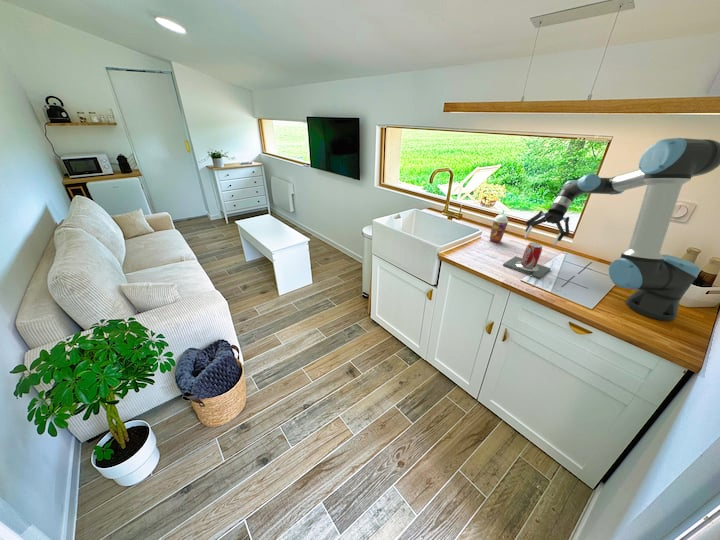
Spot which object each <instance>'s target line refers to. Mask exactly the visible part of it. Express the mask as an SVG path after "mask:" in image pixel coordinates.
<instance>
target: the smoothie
mask: <svg viewBox="0 0 720 540" xmlns="http://www.w3.org/2000/svg"><path fill="white" fill-rule="evenodd" d="M508 219H509V218H508V217H507V215H505V209H502V213H501V214H498V215H496V216H495V217H494V218H493V219H492V221H493V222H492V225H491V230H490V235H489V240H490V242H492V243H496V244H497V243H500V242H501V241H502V239H503V236H504V234H505V232H506V228H507V226H508V224H509V220H508Z"/></svg>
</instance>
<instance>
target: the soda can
mask: <svg viewBox="0 0 720 540" xmlns="http://www.w3.org/2000/svg"><path fill="white" fill-rule="evenodd" d="M525 247H526V248H525V250H524V253H523V255H522V261H521V264H522V265H523V266H524V267H526V268H534V267H535V266H536V265H537V264H538V262H539V260H540V257H541V255H542V251H543V245H541V244H540V243H538V242H529V243H528V244H527V246H525Z"/></svg>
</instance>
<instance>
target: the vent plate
mask: <svg viewBox="0 0 720 540" xmlns="http://www.w3.org/2000/svg"><path fill="white" fill-rule="evenodd" d="M522 258H523V257H522ZM522 258H521V257H520V256H517V255H516V256H514V257H512V258H510V259H509V260H507V261H506V262H504V263H503V264H502V266H504V267H505V268H506V267H507V268H509V269H512V270H513V271H517V272H519V273H522V274H524V275H527V276H530V275H532V276H533V278H535V279H538V280H540V279H542V278H543V277H544V276H545V275H546V274H548V273H549V272H550V271H551V270H552V268H551V267H548V266H545V265H542V264H539V263H537V265H536V266H535V267H534V268H526V267H524V266H523V265H522V264H521V261H522ZM532 276H531V277H532Z"/></svg>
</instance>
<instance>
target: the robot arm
mask: <svg viewBox="0 0 720 540" xmlns="http://www.w3.org/2000/svg"><path fill="white" fill-rule="evenodd" d="M718 167H720V142H719V141H716V140H714V139H707V138H706V139H703V138H702V139H701V138H687V137H685V138H683V137H677V138H676V137H673V138H672V137H671V138H664V139H661V140H658V141H656V142H654V143H653V144H652V145H651V146H649V147H648V148H647V149H646V150H645V151H644V152H643V153H642V155H641V156H640V158H639V162H638V169H634V170H631V171H629V172H625V173H622V174H619V175H615V176H612V177H600V176H599V175H597V174H595V173H588V174H586V175H583V176H582V177H580V178H578V179H572V180H567V181H566V182H565V183H564V184H563V185H562V187H561V189H560V191H559V193H558V194H557V195H556V197H555V199H554V200H553V201H552V204H551V205H550V207H549V209H548V210H547V212H543V210H540V211H539V212H538V213H537V214H535V215H534V216H533V217H531V218H529V219H528V220H527V221H525V226H527V227H526V228H525V233H524V237H523V238H524V239H527V237H528V236H529V234H530V233H531V231H532V229H533V227H535V226H538V225H540V224H542V223H546V222H547V223H548V224H552V225H554V224H556V227H557V229H558V231H559V233H558V234H557V236H556V238H555V239H554V241H553V243H552V247H554V248H555V247H556V246H557V243H558V242H561V241H562V240H563V238H564V237H569V235H570V227H569V225H570V224H569V223H570V216H566V217H565V215H566V213H567V211H568V210H569V208H570V206H571V205H572V203H573V202H574V200H575V198H577V197H580V196H582V195H583V194H594V195H596V194H597V195H598V194H600V195H610V196H611V195H613V196H614V195H621V194H623V193H624V192H625V191H628V190H631V189H635V188H641V187H644V186H646V189H645V192H644V196H643V199H642V201H641V202H642V203H641V205H640V209H639V212H638V216H637V219H636V223H635V225H634V228H633V231H632V236H631V239H630V242H629V245H628V248H627V249H626V250H624V251H622V252H621V254H620V258H616V259H614V260H613V261H612V262H611V263H610V265H609V267H608V276H609V279H610V280H611V282H612V283H613V284H614V285H615V286H616V287H618V288H621V289H629V290H632V291H633V290H636V291H634V292H633V293H631V294H630V296H628V298H626V300H625V303H626V306H628V308H629V309H631V310H633V311H634V312H636V313H638V314H640V315H642V316H644V317H647V318H650V319H653V320H657V321H663V322H671V321H674V320H675V318H676V317H677V315H678V314H679V306H680V301H681V300H682V298H683V297H684V295H685V294H686V292H687V291H688V290H689V289H690V288H691V286H692V285H693V283H694V282H695V280H696V279H697V278H698V275H699V274H700V272H701V268H700V266H699V265H698V264H696V263H694V262H692V261H689V260H686V259H684V258H682V257H679V256H676V255H669V254H662V253H661V250H662V248H663V247H662V246H663V245H664V241H665V238H666V235H667V233H668V230H669V226H670V223H671V220H672V216H673V215H674V210H675V207H676V205H677V201H678V199H679V195H680V193H681V189H682V187H683V186H684V185H685V184H686V183H687V182H690V181H691V179H692V178H694V177H698V176H702V175H706V174H708V173H711V172H712V171H714V170H715V169H717V168H718ZM561 221H563V222H564V227H565V228H564V227H563V226H562V223H561ZM563 228H564V229H563ZM564 230H565V231H564Z"/></svg>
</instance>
